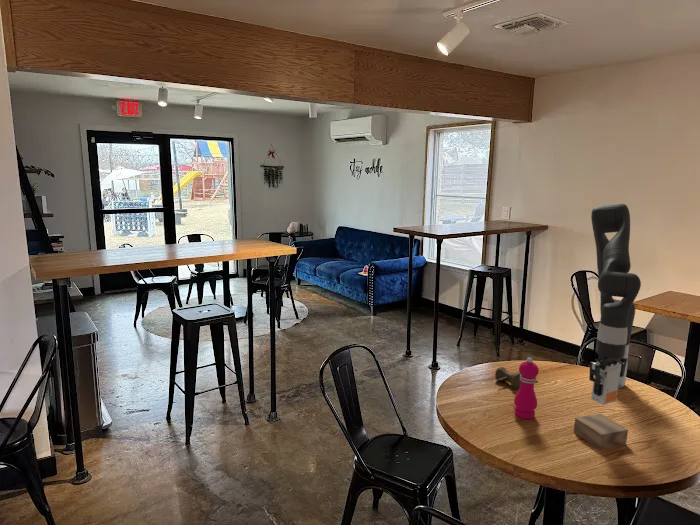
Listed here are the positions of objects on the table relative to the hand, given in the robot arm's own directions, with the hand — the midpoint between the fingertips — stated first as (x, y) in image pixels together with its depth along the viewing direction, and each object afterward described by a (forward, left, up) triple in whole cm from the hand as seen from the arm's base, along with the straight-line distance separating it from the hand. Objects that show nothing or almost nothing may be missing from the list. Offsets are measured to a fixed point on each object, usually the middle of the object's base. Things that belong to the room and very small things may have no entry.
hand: (604, 392), depth 139 cm
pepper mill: (+10, -20, -15) cm, 27 cm away
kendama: (-7, -40, -15) cm, 43 cm away
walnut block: (0, 0, -15) cm, 15 cm away
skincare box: (0, 0, -3) cm, 3 cm away
